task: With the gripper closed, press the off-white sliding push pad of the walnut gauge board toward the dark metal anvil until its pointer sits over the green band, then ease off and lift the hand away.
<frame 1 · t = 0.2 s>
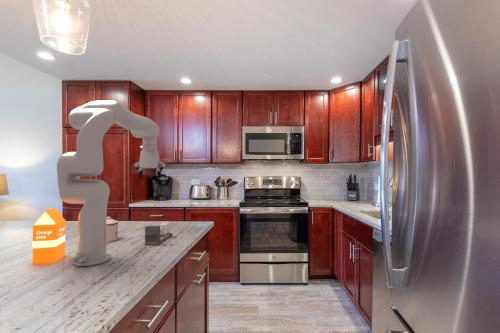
hand: (149, 178, 147), 31 cm above the countertop, tool pointing down, fingers open, 9 cm apart
teacup with lid: (107, 240, 132), on the countertop
gauge slider: (163, 228, 135), point 5 cm above the countertop, slide at 0.0 cm
orange juice: (49, 260, 103), on the countertop
gauge base: (159, 240, 131), on the countertop
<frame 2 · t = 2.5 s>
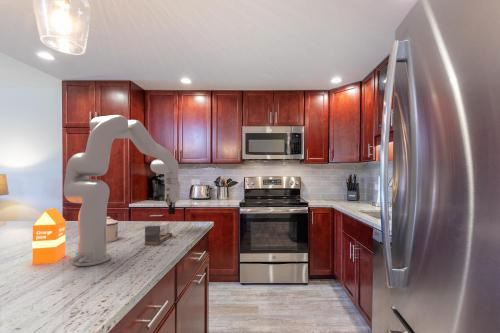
hand: (171, 214, 147), 11 cm above the countertop, tool pointing down, fingers closed
nothing on the countertop moved.
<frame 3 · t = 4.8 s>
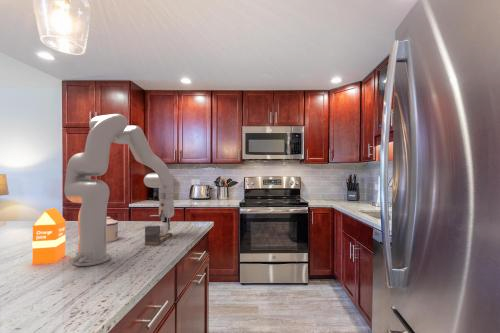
hand: (166, 230, 139), 3 cm above the countertop, tool pointing down, fingers closed
gauge slider: (162, 229, 133), point 5 cm above the countertop, slide at 1.6 cm, touching gripper
everything else where it was.
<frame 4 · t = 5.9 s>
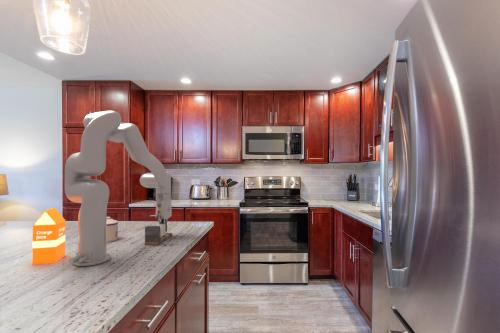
hand: (163, 231, 136), 3 cm above the countertop, tool pointing down, fingers closed
gauge slider: (159, 231, 130), point 5 cm above the countertop, slide at 5.3 cm, touching gripper
everything else where it was.
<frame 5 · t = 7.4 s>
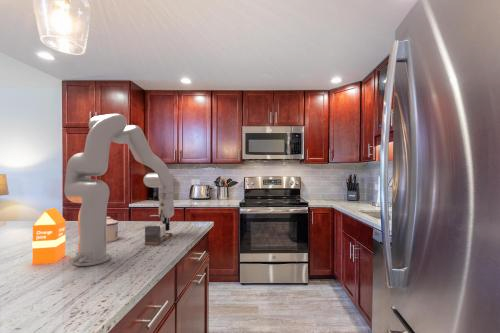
hand: (166, 230, 139), 3 cm above the countertop, tool pointing down, fingers closed
gauge slider: (159, 231, 130), point 5 cm above the countertop, slide at 5.3 cm
everything else where it was.
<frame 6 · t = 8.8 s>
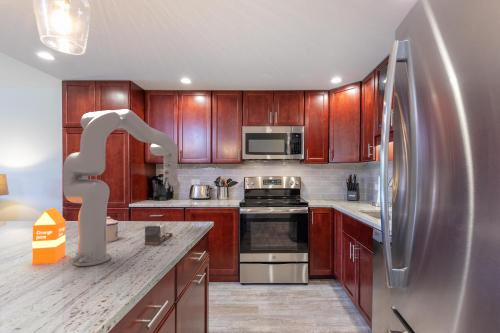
hand: (169, 198, 145), 19 cm above the countertop, tool pointing down, fingers closed
nothing on the countertop moved.
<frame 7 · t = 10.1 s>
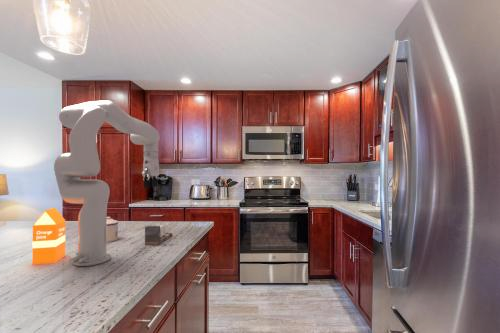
hand: (150, 187, 141), 26 cm above the countertop, tool pointing down, fingers open, 8 cm apart
nothing on the countertop moved.
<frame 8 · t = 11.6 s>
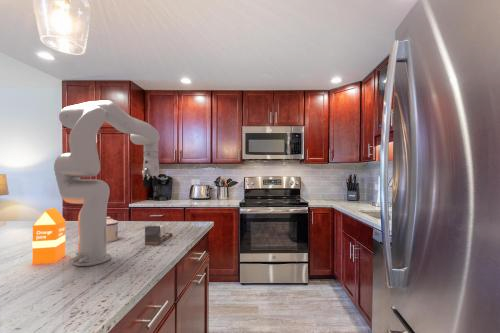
hand: (150, 186, 141), 26 cm above the countertop, tool pointing down, fingers open, 9 cm apart
nothing on the countertop moved.
at the end: gauge slider slide at 5.3 cm; teacup with lid moved 0.2 cm from its start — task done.
